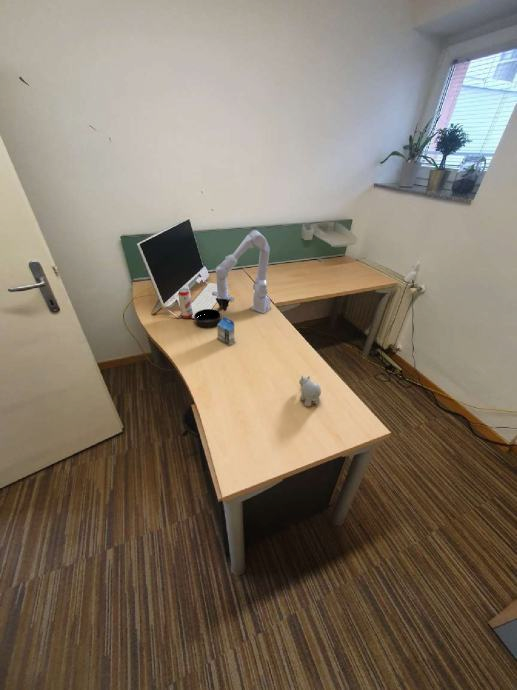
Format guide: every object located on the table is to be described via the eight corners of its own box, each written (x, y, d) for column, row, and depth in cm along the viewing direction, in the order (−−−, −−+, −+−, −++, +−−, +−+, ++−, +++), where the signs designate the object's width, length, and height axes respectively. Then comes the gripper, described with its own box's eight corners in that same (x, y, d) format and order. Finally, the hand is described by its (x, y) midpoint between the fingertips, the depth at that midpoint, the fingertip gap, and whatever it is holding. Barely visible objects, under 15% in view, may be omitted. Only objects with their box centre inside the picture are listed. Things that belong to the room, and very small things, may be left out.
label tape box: (217, 338, 138) (215, 317, 131) (223, 335, 140) (222, 314, 133) (229, 345, 133) (228, 324, 126) (235, 342, 136) (234, 321, 128)
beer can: (195, 315, 156) (192, 289, 147) (188, 320, 152) (184, 293, 142) (186, 312, 158) (182, 287, 149) (179, 317, 154) (175, 291, 144)
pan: (236, 313, 159) (236, 307, 157) (208, 331, 143) (207, 324, 141) (218, 306, 166) (218, 300, 163) (189, 322, 150) (188, 316, 147)
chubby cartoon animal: (308, 384, 113) (311, 368, 108) (322, 405, 104) (325, 389, 99) (292, 387, 111) (294, 371, 106) (304, 409, 102) (307, 393, 97)
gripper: (207, 286, 152) (209, 308, 160) (227, 293, 145) (228, 316, 153) (216, 282, 156) (217, 304, 164) (236, 289, 150) (236, 311, 158)
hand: (223, 309), depth 159 cm, fingers closed on pan, 2 cm apart
